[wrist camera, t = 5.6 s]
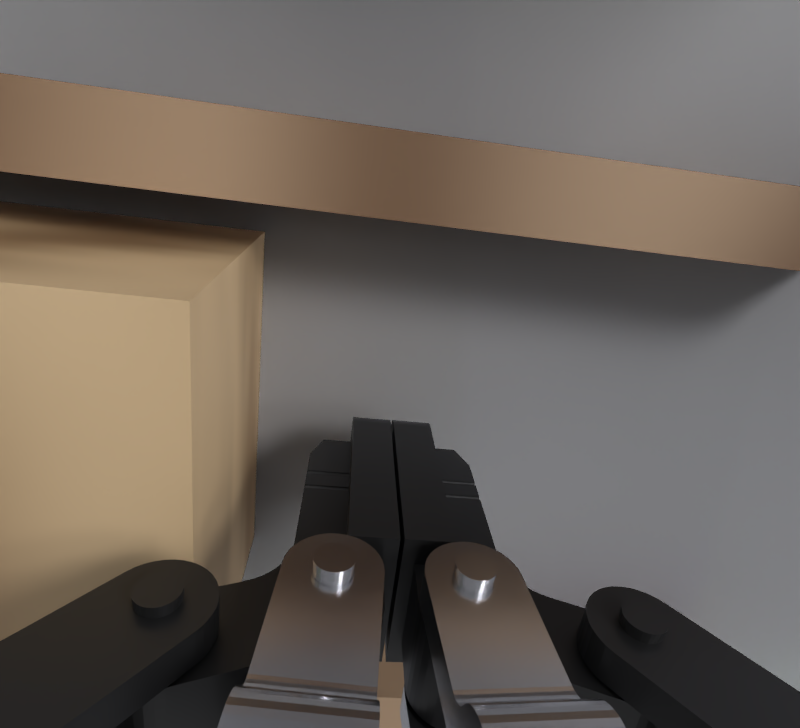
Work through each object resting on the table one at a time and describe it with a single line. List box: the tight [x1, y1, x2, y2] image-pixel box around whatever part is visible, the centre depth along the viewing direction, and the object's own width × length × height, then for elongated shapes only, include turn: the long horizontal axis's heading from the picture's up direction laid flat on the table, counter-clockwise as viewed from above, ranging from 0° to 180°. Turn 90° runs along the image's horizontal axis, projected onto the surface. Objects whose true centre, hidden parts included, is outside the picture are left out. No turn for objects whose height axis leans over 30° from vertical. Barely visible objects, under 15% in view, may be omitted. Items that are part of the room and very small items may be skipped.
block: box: [0, 201, 265, 641], centre depth 9 cm, size 7×7×5 cm
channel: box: [0, 73, 800, 728], centre depth 10 cm, size 23×12×4 cm, turn 83°
